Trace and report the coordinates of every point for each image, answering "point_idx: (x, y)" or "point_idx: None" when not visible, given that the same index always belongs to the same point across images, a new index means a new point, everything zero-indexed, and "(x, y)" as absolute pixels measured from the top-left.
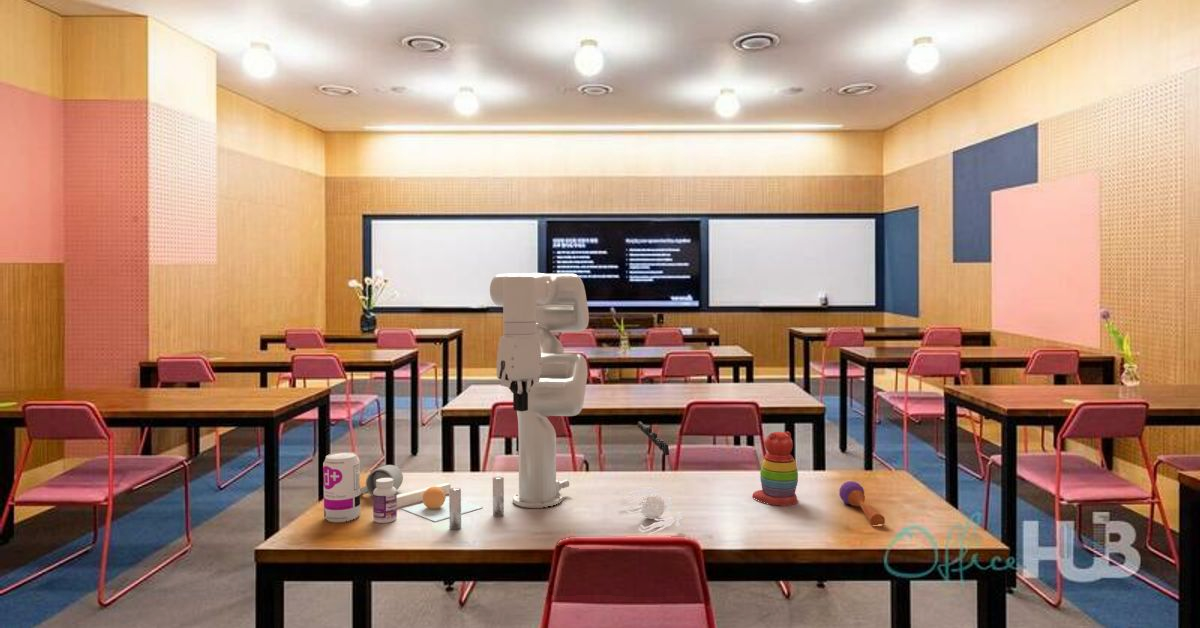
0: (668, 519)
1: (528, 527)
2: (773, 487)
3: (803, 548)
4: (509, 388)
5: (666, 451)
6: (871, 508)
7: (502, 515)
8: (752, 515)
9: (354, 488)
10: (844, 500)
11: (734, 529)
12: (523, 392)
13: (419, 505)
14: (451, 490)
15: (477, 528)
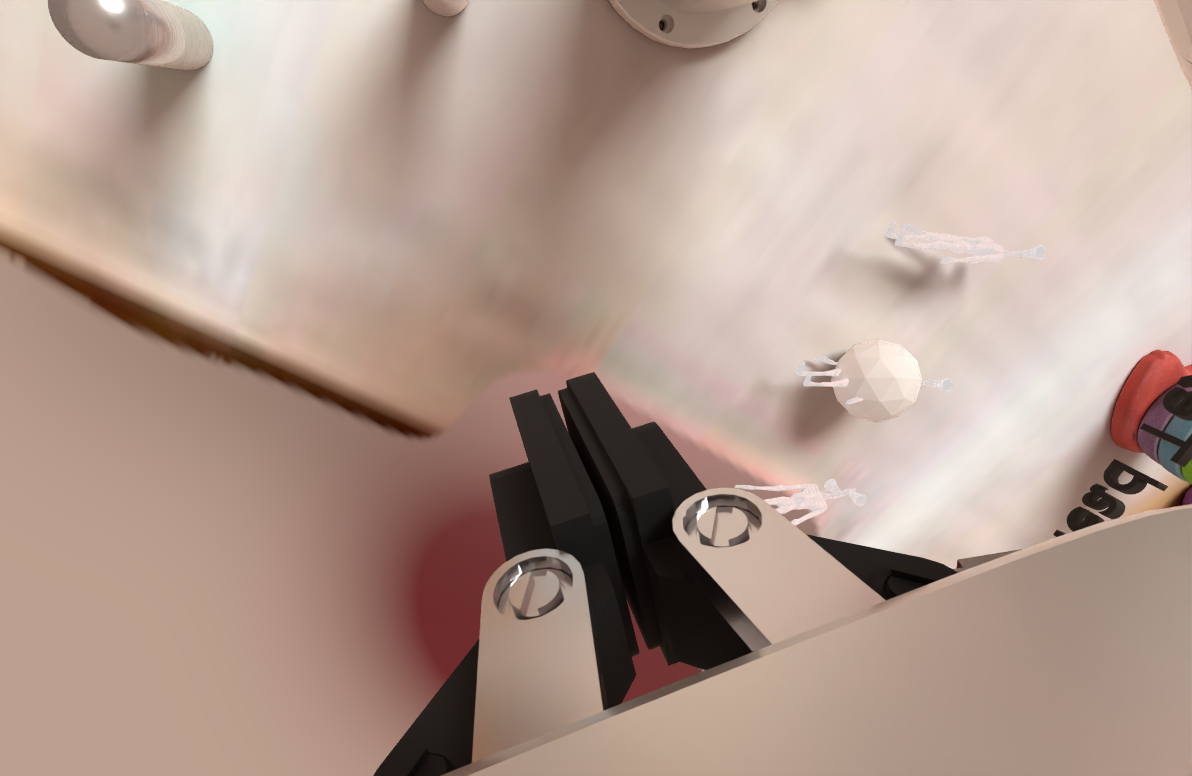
0: (804, 517)
1: (490, 225)
2: (1159, 452)
3: None
4: (425, 718)
5: None
6: None
7: (455, 14)
8: (1019, 462)
9: None
10: (1189, 500)
11: (914, 518)
12: (662, 630)
13: None
14: (64, 29)
15: (288, 109)
